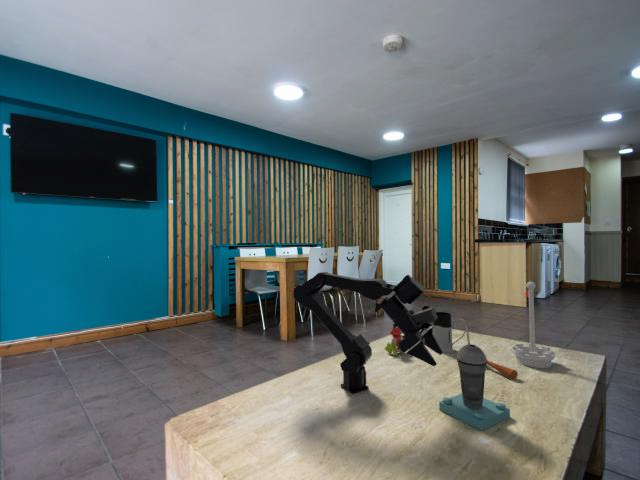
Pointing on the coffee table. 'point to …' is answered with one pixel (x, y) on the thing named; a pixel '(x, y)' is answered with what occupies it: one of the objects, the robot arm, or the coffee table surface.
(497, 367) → the kendama
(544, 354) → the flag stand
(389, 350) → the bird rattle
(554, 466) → the coffee table surface
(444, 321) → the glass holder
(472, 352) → the beverage cup
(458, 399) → the base brick
